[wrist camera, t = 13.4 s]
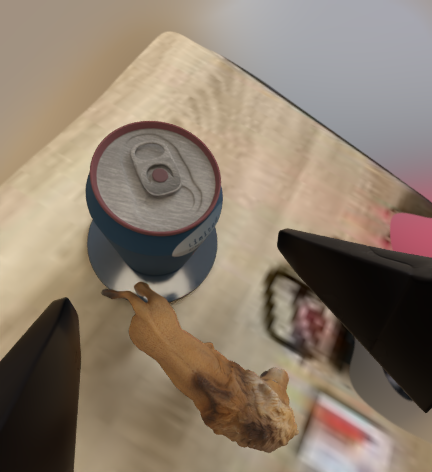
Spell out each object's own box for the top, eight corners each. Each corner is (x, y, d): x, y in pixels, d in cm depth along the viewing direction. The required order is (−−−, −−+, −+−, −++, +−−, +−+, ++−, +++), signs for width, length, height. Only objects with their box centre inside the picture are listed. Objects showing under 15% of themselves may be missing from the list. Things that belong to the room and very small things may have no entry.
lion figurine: (251, 353, 21) (325, 394, 13) (224, 412, 19) (291, 503, 11) (123, 266, 19) (116, 249, 11) (77, 322, 17) (26, 353, 9)
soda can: (204, 259, 22) (256, 216, 11) (134, 289, 19) (106, 276, 8) (176, 198, 23) (198, 100, 12) (107, 219, 20) (49, 123, 9)
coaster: (229, 284, 22) (231, 283, 22) (100, 322, 19) (98, 322, 18) (199, 179, 25) (200, 176, 24) (79, 193, 21) (77, 190, 20)
